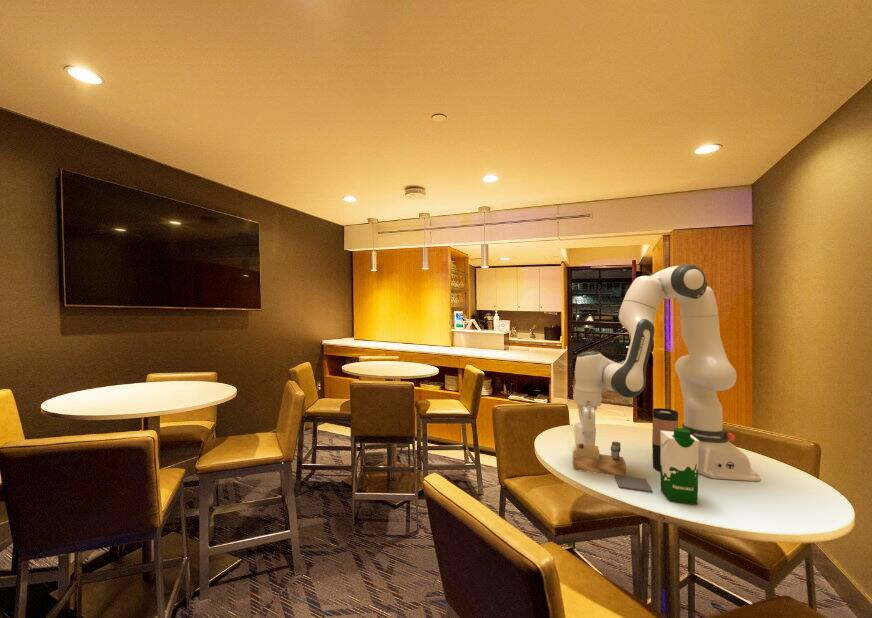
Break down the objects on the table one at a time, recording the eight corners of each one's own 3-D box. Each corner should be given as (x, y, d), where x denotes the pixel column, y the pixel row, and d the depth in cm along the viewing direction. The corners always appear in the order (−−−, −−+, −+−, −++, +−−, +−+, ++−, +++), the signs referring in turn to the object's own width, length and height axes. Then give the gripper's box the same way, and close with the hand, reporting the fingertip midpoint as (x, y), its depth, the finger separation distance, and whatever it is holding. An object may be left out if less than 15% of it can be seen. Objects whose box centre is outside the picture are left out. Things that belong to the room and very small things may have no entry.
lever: (612, 448, 130) (612, 438, 130) (620, 450, 128) (620, 439, 128) (609, 457, 121) (609, 446, 121) (618, 459, 120) (618, 448, 120)
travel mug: (676, 467, 132) (676, 409, 133) (679, 475, 125) (680, 414, 126) (650, 463, 136) (651, 407, 136) (653, 471, 129) (653, 411, 129)
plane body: (622, 468, 130) (622, 448, 131) (625, 476, 124) (626, 455, 124) (572, 462, 135) (572, 443, 135) (573, 469, 128) (574, 449, 129)
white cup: (599, 455, 143) (599, 428, 143) (577, 454, 143) (578, 428, 143) (591, 448, 150) (591, 422, 151) (570, 447, 151) (571, 422, 151)
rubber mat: (645, 480, 121) (645, 478, 121) (652, 492, 113) (652, 490, 113) (614, 476, 124) (614, 474, 124) (619, 488, 115) (619, 486, 115)
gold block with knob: (597, 454, 132) (597, 443, 132) (599, 459, 127) (599, 448, 127) (576, 452, 134) (576, 441, 134) (576, 457, 129) (577, 445, 129)
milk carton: (667, 502, 107) (668, 431, 107) (656, 488, 116) (657, 422, 116) (702, 506, 105) (703, 434, 105) (688, 492, 114) (689, 424, 114)
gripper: (600, 406, 120) (599, 450, 120) (594, 394, 140) (592, 432, 139) (579, 404, 122) (577, 447, 122) (576, 392, 141) (574, 429, 141)
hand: (585, 439), depth 131 cm, fingers open, 8 cm apart
